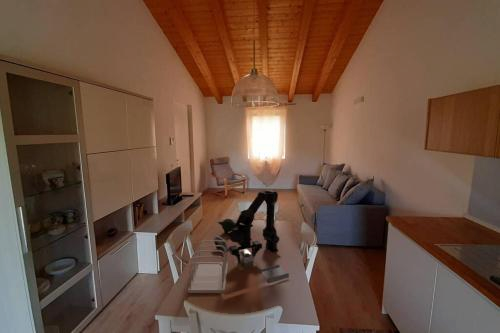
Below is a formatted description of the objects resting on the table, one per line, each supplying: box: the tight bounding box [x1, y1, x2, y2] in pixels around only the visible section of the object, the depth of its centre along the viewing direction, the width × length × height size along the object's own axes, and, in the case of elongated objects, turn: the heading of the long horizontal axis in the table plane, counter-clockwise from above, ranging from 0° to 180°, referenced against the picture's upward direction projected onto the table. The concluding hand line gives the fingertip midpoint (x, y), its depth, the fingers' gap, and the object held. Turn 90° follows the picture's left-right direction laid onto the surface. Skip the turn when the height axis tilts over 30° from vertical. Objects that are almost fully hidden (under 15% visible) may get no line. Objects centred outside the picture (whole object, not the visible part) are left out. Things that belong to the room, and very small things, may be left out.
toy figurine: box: [217, 209, 246, 235], centre depth 183 cm, size 9×19×25 cm
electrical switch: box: [213, 235, 229, 253], centre depth 156 cm, size 9×5×9 cm, turn 44°
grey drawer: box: [239, 249, 253, 269], centre depth 139 cm, size 6×9×7 cm, turn 25°
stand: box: [232, 258, 259, 271], centre depth 140 cm, size 12×10×2 cm
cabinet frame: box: [259, 263, 290, 284], centre depth 131 cm, size 12×10×2 cm
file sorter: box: [187, 239, 229, 294], centre depth 127 cm, size 25×17×16 cm
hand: (245, 261), depth 140 cm, fingers open, 8 cm apart
